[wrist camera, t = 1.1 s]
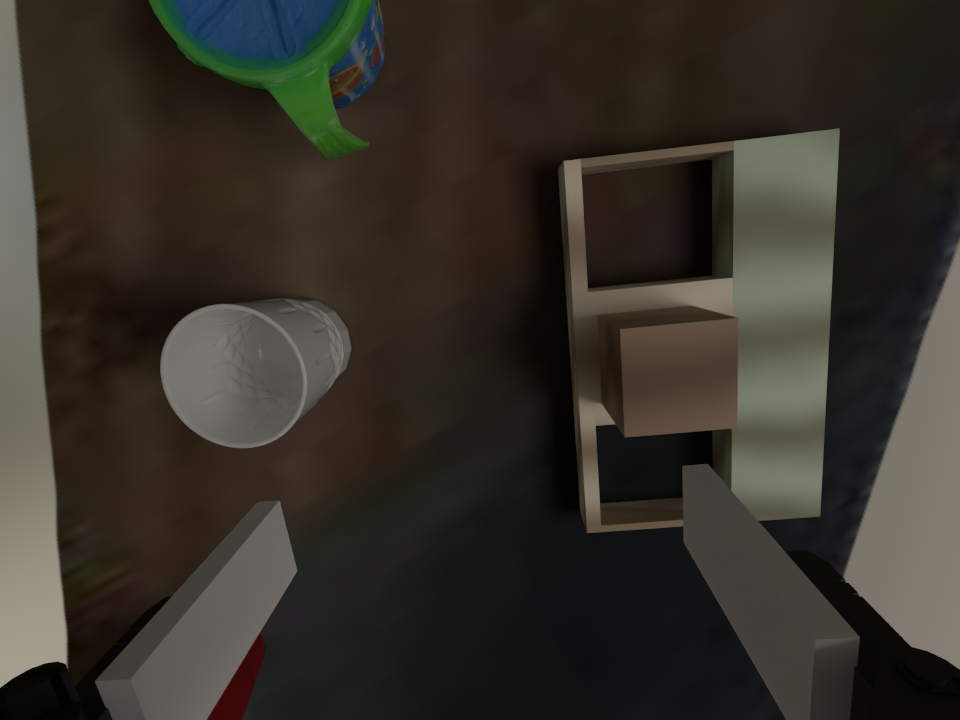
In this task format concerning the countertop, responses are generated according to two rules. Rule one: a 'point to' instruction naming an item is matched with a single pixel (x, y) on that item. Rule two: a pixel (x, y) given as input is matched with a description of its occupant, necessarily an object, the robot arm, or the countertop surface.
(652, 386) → the walnut block
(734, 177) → the frame
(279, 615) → the countertop surface
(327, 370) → the white cup
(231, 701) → the plastic cup
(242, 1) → the snack cup
